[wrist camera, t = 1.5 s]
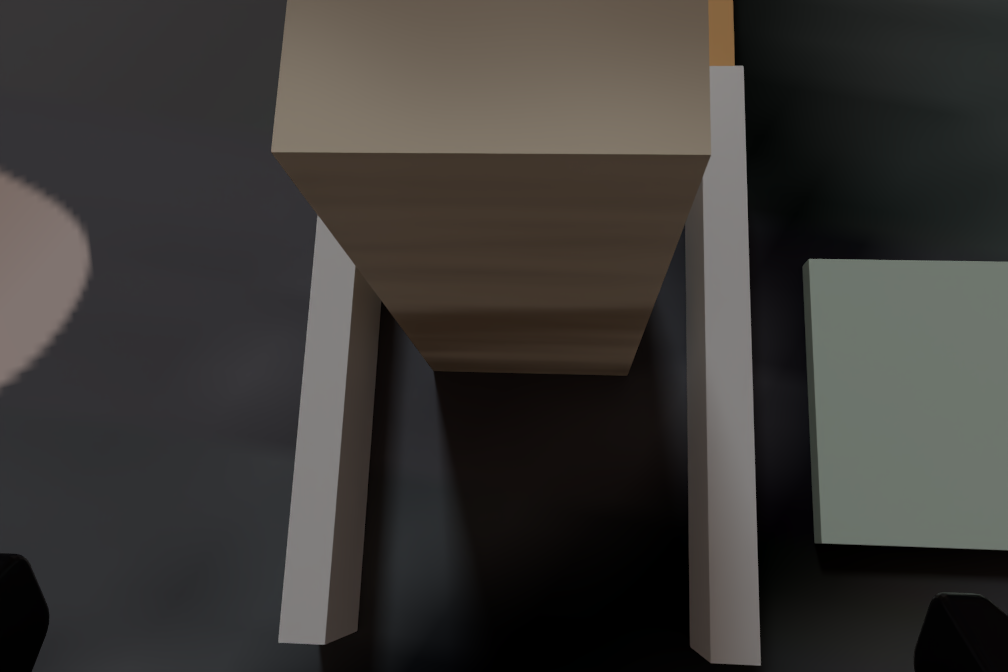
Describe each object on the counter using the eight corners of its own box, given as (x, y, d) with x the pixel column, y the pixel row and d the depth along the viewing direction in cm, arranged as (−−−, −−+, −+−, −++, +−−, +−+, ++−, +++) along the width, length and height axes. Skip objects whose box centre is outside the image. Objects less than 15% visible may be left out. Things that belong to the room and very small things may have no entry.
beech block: (627, 375, 22) (711, 154, 10) (433, 371, 23) (271, 152, 10) (628, 193, 23) (704, -218, 11) (443, 191, 24) (309, -208, 11)
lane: (732, 648, 21) (761, 665, 18) (317, 628, 21) (277, 642, 18) (721, 124, 24) (743, 66, 21) (359, 123, 24) (331, 66, 22)
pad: (1118, 554, 21) (1135, 554, 20) (814, 543, 21) (821, 543, 20) (1084, 270, 22) (1098, 263, 22) (802, 266, 23) (808, 259, 22)
